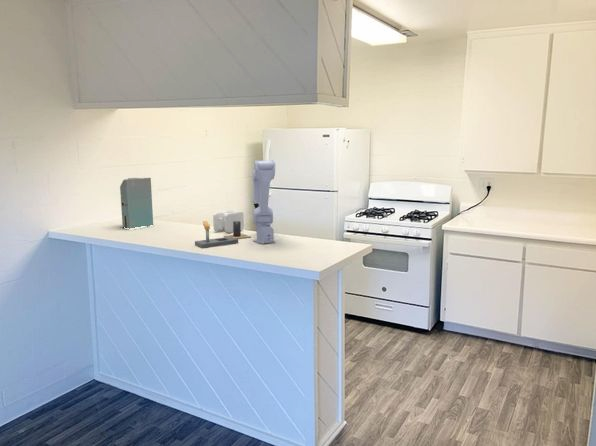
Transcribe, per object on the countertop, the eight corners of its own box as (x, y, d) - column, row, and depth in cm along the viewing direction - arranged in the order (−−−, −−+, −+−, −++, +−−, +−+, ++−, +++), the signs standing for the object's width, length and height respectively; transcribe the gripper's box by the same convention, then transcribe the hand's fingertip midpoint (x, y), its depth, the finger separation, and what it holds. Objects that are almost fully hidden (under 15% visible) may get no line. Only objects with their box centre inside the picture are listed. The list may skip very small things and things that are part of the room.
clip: (210, 229, 246) (209, 225, 245) (204, 229, 245) (204, 225, 245) (207, 224, 258) (207, 221, 258) (202, 225, 258) (202, 221, 257)
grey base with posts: (238, 243, 253) (237, 227, 251) (202, 248, 242) (201, 231, 240) (230, 240, 260) (229, 225, 259) (195, 245, 249) (194, 229, 247)
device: (146, 225, 308) (143, 177, 303) (153, 226, 303) (150, 177, 298) (122, 228, 295) (119, 178, 290) (129, 230, 290) (126, 179, 285)
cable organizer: (225, 234, 276) (225, 214, 274) (212, 232, 283) (212, 212, 281) (244, 230, 288) (243, 211, 286) (231, 228, 294) (230, 209, 292)
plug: (241, 236, 268) (241, 221, 267) (235, 237, 266) (235, 222, 264) (238, 235, 271) (238, 220, 270) (232, 235, 269) (231, 221, 267)
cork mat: (250, 237, 267) (250, 236, 267) (232, 240, 261) (232, 238, 261) (241, 234, 276) (241, 233, 276) (223, 236, 270) (223, 235, 270)
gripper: (250, 191, 274) (251, 215, 277) (252, 194, 260) (253, 219, 263) (263, 191, 276) (263, 215, 278) (266, 194, 262) (266, 219, 264)
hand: (259, 217), depth 270 cm, fingers open, 7 cm apart
